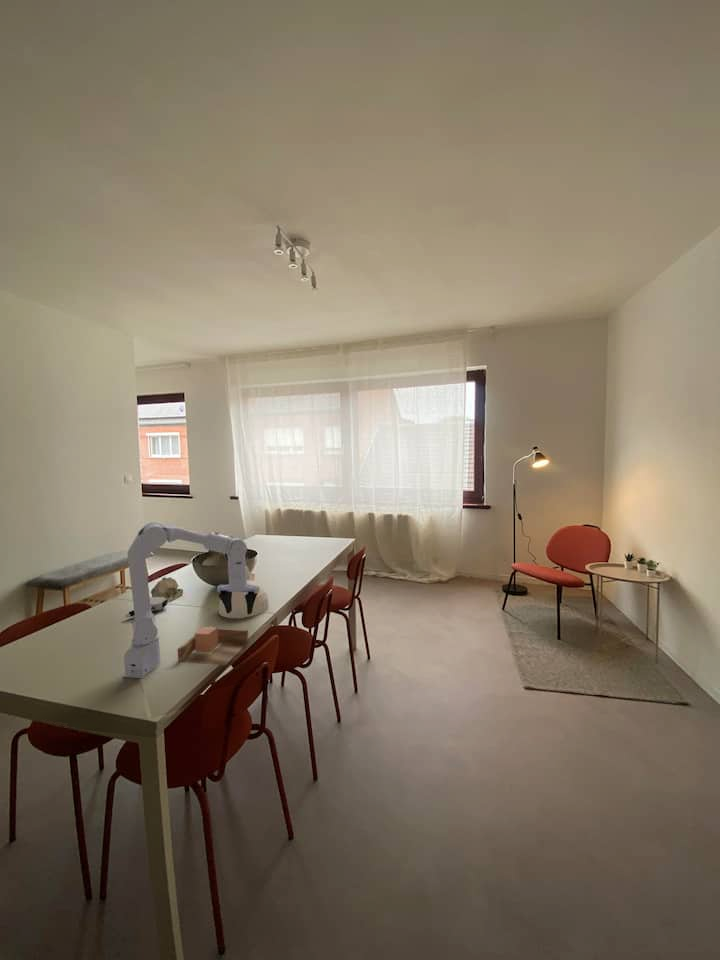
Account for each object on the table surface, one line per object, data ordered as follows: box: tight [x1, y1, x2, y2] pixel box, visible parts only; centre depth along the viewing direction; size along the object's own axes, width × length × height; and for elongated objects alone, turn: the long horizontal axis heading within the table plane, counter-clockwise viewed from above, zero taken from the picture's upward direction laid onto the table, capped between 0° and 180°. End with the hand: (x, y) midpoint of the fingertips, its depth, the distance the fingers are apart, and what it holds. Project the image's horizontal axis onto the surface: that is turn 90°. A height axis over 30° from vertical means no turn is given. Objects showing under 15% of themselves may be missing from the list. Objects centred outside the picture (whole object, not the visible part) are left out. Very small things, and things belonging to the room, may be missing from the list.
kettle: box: [218, 565, 270, 619], centre depth 164 cm, size 20×21×18 cm
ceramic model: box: [150, 577, 184, 603], centre depth 179 cm, size 14×11×10 cm
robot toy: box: [125, 596, 171, 618], centre depth 163 cm, size 12×4×15 cm
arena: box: [177, 627, 249, 666], centre depth 128 cm, size 15×16×5 cm
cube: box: [194, 626, 218, 652], centre depth 129 cm, size 5×5×6 cm
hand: (239, 612), depth 134 cm, fingers open, 7 cm apart
